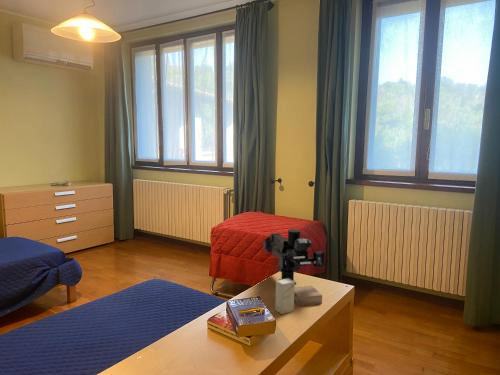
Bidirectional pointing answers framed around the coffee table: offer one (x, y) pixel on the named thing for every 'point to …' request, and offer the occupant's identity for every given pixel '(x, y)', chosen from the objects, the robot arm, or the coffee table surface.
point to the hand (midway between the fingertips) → (311, 267)
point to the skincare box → (284, 296)
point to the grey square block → (307, 296)
